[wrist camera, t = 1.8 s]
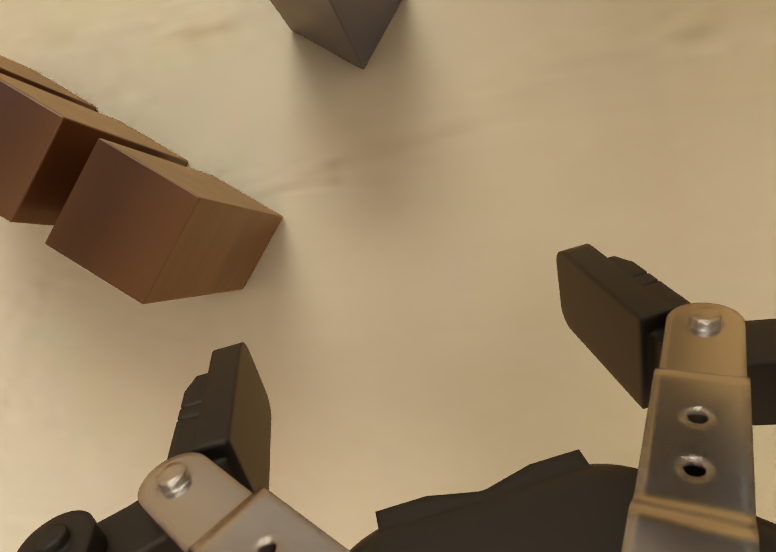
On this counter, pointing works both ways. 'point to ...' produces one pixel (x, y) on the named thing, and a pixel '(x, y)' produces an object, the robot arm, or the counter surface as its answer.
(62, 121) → the line block
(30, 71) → the line block
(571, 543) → the robot arm
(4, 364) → the counter surface
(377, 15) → the block
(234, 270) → the line block
